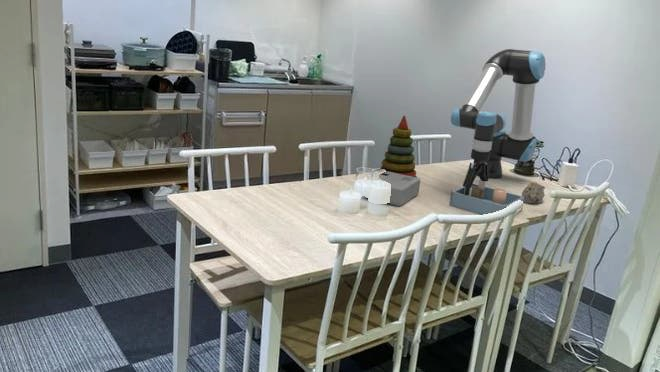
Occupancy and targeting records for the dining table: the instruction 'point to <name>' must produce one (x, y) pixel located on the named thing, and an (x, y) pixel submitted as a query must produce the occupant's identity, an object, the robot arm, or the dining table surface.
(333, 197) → the dining table surface
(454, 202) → the tote
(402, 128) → the toy
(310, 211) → the dining table surface
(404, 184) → the projector
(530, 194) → the rock
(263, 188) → the dining table surface
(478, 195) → the cube
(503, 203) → the cylinder
